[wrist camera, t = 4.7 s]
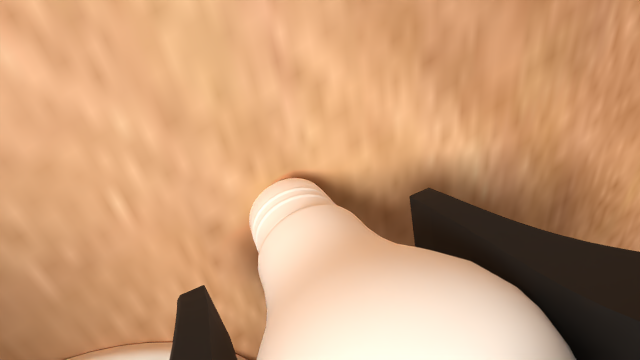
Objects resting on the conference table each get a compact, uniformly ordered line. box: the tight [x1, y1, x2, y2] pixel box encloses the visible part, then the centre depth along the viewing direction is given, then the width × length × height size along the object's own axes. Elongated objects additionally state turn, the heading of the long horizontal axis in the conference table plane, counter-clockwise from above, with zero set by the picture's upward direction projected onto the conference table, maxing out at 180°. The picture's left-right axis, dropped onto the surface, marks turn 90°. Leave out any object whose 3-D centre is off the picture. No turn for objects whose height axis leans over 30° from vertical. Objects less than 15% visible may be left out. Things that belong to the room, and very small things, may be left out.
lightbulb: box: [249, 178, 576, 360], centre depth 11 cm, size 6×6×11 cm
